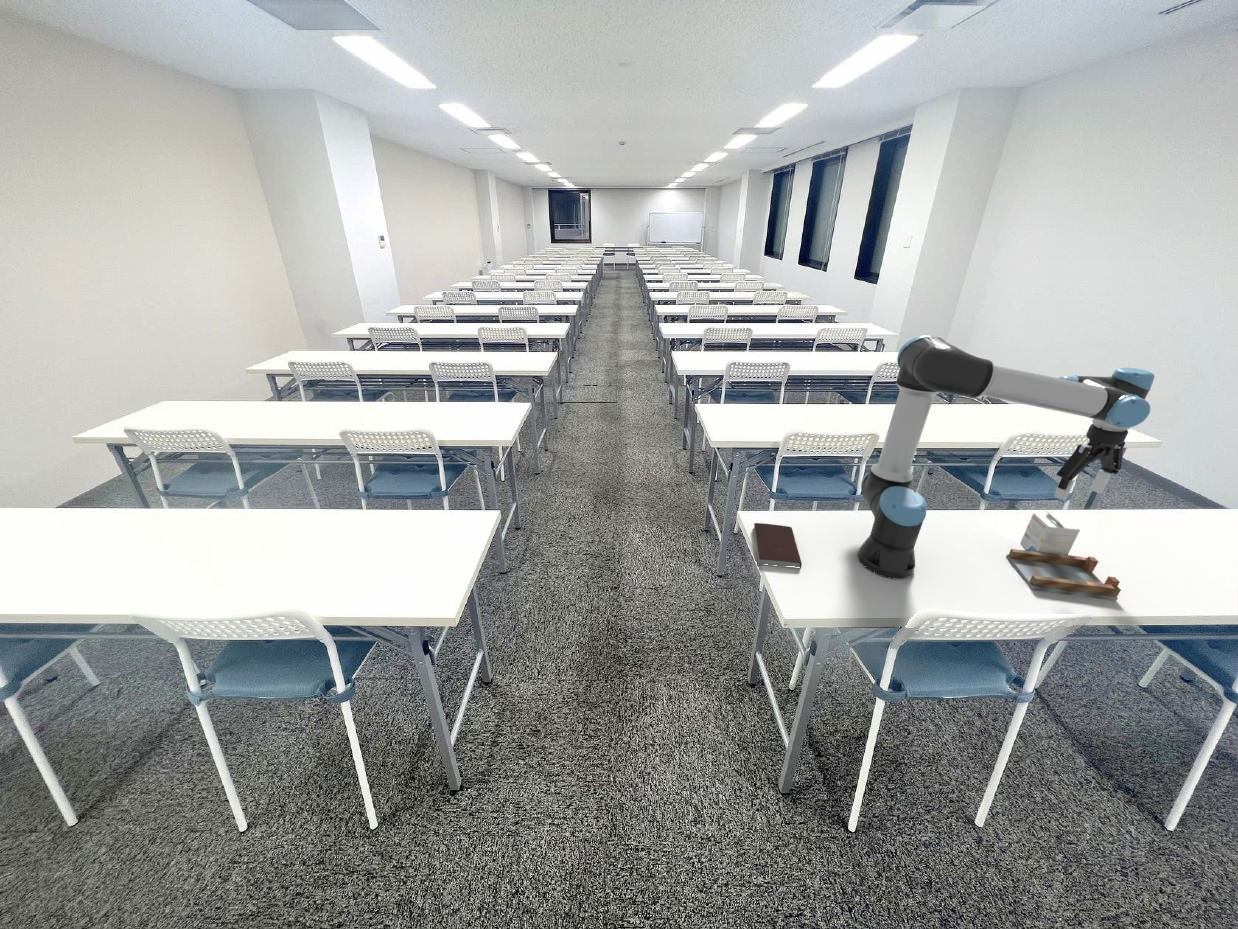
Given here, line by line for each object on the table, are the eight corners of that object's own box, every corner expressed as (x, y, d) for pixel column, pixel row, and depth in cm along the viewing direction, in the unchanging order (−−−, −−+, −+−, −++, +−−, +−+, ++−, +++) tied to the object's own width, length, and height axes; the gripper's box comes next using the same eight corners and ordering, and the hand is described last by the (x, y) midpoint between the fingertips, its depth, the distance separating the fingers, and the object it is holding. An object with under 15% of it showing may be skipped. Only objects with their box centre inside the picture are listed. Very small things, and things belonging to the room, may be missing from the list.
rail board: (1031, 589, 133) (1038, 575, 131) (1006, 557, 146) (1012, 543, 144) (1116, 601, 129) (1125, 586, 127) (1082, 566, 142) (1089, 553, 140)
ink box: (1065, 562, 144) (1084, 525, 138) (1034, 558, 146) (1051, 522, 140) (1048, 545, 152) (1066, 509, 146) (1019, 542, 153) (1035, 507, 147)
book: (790, 533, 159) (792, 525, 157) (800, 570, 142) (802, 562, 140) (752, 530, 161) (753, 522, 159) (757, 566, 144) (758, 557, 142)
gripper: (1089, 437, 122) (1057, 507, 131) (1161, 426, 127) (1125, 495, 136) (1059, 426, 128) (1030, 494, 138) (1128, 416, 133) (1096, 482, 143)
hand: (1077, 495), depth 137 cm, fingers open, 13 cm apart
